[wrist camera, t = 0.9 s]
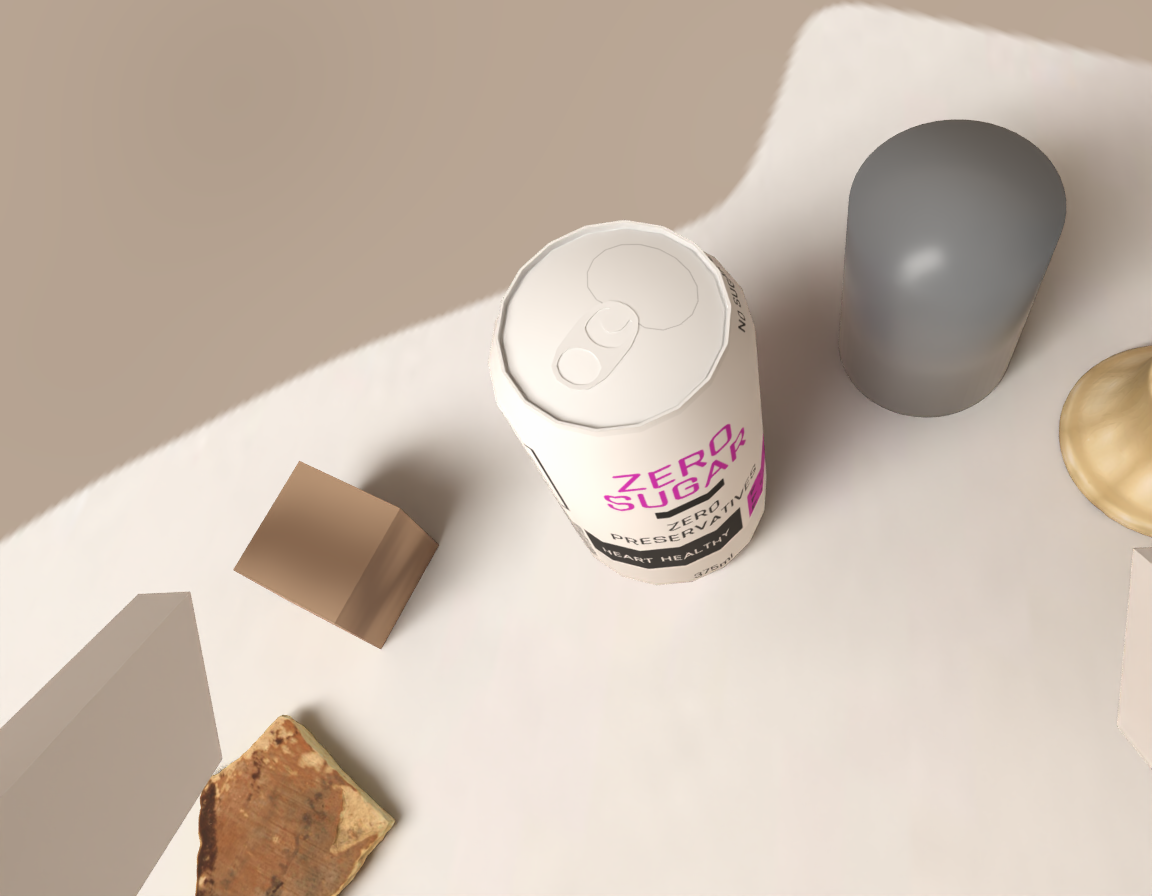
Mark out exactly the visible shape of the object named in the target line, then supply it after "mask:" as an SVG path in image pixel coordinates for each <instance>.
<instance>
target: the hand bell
mask: <svg viewBox="0 0 1152 896" xmlns="http://www.w3.org/2000/svg"><path fill="white" fill-rule="evenodd" d="M1059 440H1060V448H1061V453H1062V456H1063V460H1064V463H1065V465H1066V468H1067V470H1068V472H1069V474H1070V476H1071V478H1072V479H1073V481H1074V483H1075V484H1076V486H1077V487H1078V488H1079V490H1080V491H1081V492H1082V493H1083V494H1084V495H1085V497H1086V498H1087V499H1088V500H1089V501H1090V502H1091V503H1092V504H1094V505H1095V506H1096V507H1097V508H1098V509H1100V510H1101V511H1102V512H1103V513H1105V514H1106V515H1107V516H1108V517H1109V518H1111V519H1113V520H1114V521H1116V522H1118V523H1119V524H1121V525H1123V526H1125V527H1127V528H1129V529H1132V530H1134V531H1136V532H1139V533H1141V534H1144V535H1147V536H1150V537H1152V346H1146V347H1140V348H1135V349H1131V350H1127V351H1124V352H1121V353H1118V354H1116V355H1113V356H1111V357H1109V358H1107V359H1105V360H1103V361H1102V362H1100V363H1099V364H1097V365H1096V366H1094V367H1093V368H1091V369H1090V370H1089V371H1088V372H1087V373H1085V374H1084V375H1083V376H1082V377H1081V378H1080V379H1079V380H1078V382H1077V383H1076V384H1075V386H1074V387H1073V389H1072V390H1071V392H1070V393H1069V395H1068V397H1067V399H1066V402H1065V404H1064V406H1063V409H1062V413H1061V417H1060V425H1059Z"/></svg>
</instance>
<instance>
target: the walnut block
mask: <svg viewBox="0 0 1152 896" xmlns="http://www.w3.org/2000/svg"><path fill="white" fill-rule="evenodd" d="M438 546H439V544H438V543H437V542H435V541H434V540H433V539H432V538H431V537H430V536H429V535H428V534H427V533H426V532H425V531H424V530H423V529H422V528H421V527H420V526H419V525H417V524H416V523H415V522H414V521H413V520H412V519H411V518H410V517H409V516H408V515H407V514H406V513H405V512H404V511H403V510H402V509H401V508H399V507H397V506H395V505H392V504H390V503H388V502H386V501H384V500H382V499H380V498H377V497H375V496H373V495H371V494H369V493H367V492H365V491H362V490H360V489H358V488H356V487H354V486H352V485H350V484H348V483H345V482H343V481H341V480H339V479H337V478H335V477H333V476H330V475H328V474H326V473H324V472H322V471H320V470H318V469H315V468H313V467H311V466H309V465H307V464H305V463H303V462H301V461H299V462H298V464H297V466H296V467H295V469H294V471H293V472H292V474H291V476H290V477H289V479H288V481H287V482H286V484H285V486H284V487H283V489H282V490H281V492H280V494H279V495H278V497H277V499H276V500H275V502H274V504H273V505H272V507H271V509H270V510H269V512H268V514H267V515H266V517H265V518H264V520H263V522H262V523H261V525H260V527H259V528H258V530H257V532H256V533H255V535H254V537H253V538H252V540H251V541H250V543H249V545H248V546H247V548H246V550H245V551H244V553H243V555H242V556H241V558H240V560H239V561H238V563H237V565H236V566H235V568H234V569H233V570H234V571H236V572H237V573H239V574H241V575H243V576H245V577H246V578H248V579H250V580H252V581H254V582H255V583H257V584H259V585H261V586H263V587H264V588H266V589H268V590H270V591H272V592H273V593H275V594H277V595H279V596H281V597H282V598H284V599H286V600H288V601H290V602H292V603H294V604H295V605H297V606H299V607H301V608H303V609H305V610H307V611H309V612H311V613H313V614H314V615H316V616H318V617H320V618H322V619H324V620H326V621H328V622H330V623H332V624H333V625H335V626H337V627H339V628H341V629H343V630H345V631H347V632H349V633H351V634H353V635H354V636H356V637H358V638H360V639H362V640H364V641H366V642H368V643H370V644H372V645H373V646H375V647H377V648H379V649H381V648H382V647H383V645H384V643H385V641H386V639H387V638H388V636H389V634H390V632H391V630H392V629H393V627H394V625H395V623H396V621H397V620H398V618H399V616H400V614H401V612H402V611H403V609H404V607H405V605H406V603H407V602H408V600H409V598H410V596H411V594H412V593H413V591H414V589H415V587H416V585H417V584H418V582H419V580H420V578H421V576H422V575H423V573H424V571H425V569H426V567H427V566H428V564H429V562H430V560H431V558H432V557H433V555H434V553H435V551H436V549H437V548H438Z"/></svg>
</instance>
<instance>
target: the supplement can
mask: <svg viewBox="0 0 1152 896" xmlns="http://www.w3.org/2000/svg"><path fill="white" fill-rule="evenodd" d="M488 365H489V370H490V375H491V380H492V384H493V389H494V394H495V399H496V403H497V405H498V406H499V408H500V410H501V411H502V413H503V414H504V416H505V418H506V419H507V421H508V422H509V424H510V426H511V427H512V429H513V430H514V432H515V434H516V435H517V437H518V438H519V440H520V442H521V443H522V445H523V446H524V448H525V450H526V451H527V453H528V454H529V456H530V458H531V459H532V461H533V463H534V464H535V466H536V467H537V469H538V471H539V472H540V474H541V475H542V477H543V479H544V480H545V482H546V483H547V485H548V487H549V488H550V490H551V491H552V493H553V495H554V496H555V498H556V499H557V501H558V503H559V504H560V506H561V507H562V509H563V511H564V512H565V514H566V515H567V517H568V519H569V520H570V522H571V524H572V525H573V527H574V528H575V530H576V531H577V533H578V534H579V536H580V537H581V539H582V540H583V542H584V543H585V545H586V546H587V548H588V549H589V550H590V552H591V553H592V555H593V556H594V558H596V559H597V560H599V561H600V562H602V563H603V564H605V565H606V566H608V567H609V568H610V569H612V570H613V571H615V572H616V573H618V574H619V575H621V576H622V577H626V578H630V579H634V580H638V581H642V582H645V583H649V584H653V585H664V584H674V583H685V582H693V581H695V580H697V579H699V578H701V577H703V576H706V575H708V574H710V573H712V572H714V571H716V570H719V569H721V568H723V567H725V566H726V565H727V564H728V563H729V562H730V561H731V560H732V559H733V558H734V557H735V556H736V555H737V554H738V553H739V552H740V551H741V550H742V549H743V548H744V547H745V546H746V545H747V544H748V543H749V542H750V540H751V538H752V536H753V534H754V532H755V530H756V528H757V525H758V523H759V521H760V519H761V517H762V515H763V513H764V509H765V495H766V480H767V475H766V462H765V449H764V436H763V423H762V410H761V397H760V384H759V371H758V358H757V345H756V332H755V326H754V323H753V320H752V317H751V314H750V311H749V308H748V305H747V302H746V299H745V296H744V293H743V290H742V288H741V287H740V286H739V285H738V284H737V282H736V281H735V280H734V279H733V278H732V277H731V276H730V274H729V273H728V272H727V271H726V270H725V269H724V268H723V266H722V265H721V264H720V263H719V262H718V261H717V260H716V258H715V257H713V256H711V255H709V254H707V253H705V252H704V251H702V250H701V249H700V248H699V246H698V245H697V244H696V243H694V242H692V241H690V240H688V239H687V238H685V237H683V236H681V235H679V234H677V233H675V232H673V231H671V230H669V229H668V228H666V227H664V226H660V225H653V224H646V223H640V222H633V221H627V220H621V221H614V222H607V223H601V224H594V225H588V226H584V227H582V228H579V229H577V230H575V231H573V232H571V233H569V234H567V235H564V236H562V237H561V238H558V239H556V240H554V241H552V242H549V243H548V244H547V245H546V246H545V247H544V248H542V249H541V250H540V251H539V252H538V253H537V254H536V255H535V256H534V257H533V258H531V259H530V260H529V261H528V262H527V263H526V264H525V265H524V266H522V267H521V268H520V269H519V271H518V273H517V275H516V276H515V279H514V280H513V282H512V283H511V285H510V287H509V289H508V290H507V292H506V294H505V295H504V297H503V299H502V301H501V305H500V310H499V316H498V318H497V320H496V322H495V326H494V332H493V337H492V343H491V349H490V354H489V360H488Z"/></svg>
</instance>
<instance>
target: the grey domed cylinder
mask: <svg viewBox="0 0 1152 896" xmlns="http://www.w3.org/2000/svg"><path fill="white" fill-rule="evenodd" d="M1065 216H1066V197H1065V191H1064V187H1063V184H1062V181H1061V179H1060V176H1059V174H1058V173H1057V171H1056V169H1055V167H1054V166H1053V164H1052V163H1051V162H1050V160H1049V159H1048V158H1047V156H1046V155H1045V154H1044V153H1043V152H1042V151H1041V150H1040V149H1039V148H1037V147H1036V146H1035V145H1034V144H1032V143H1031V142H1030V141H1028V140H1027V139H1025V138H1024V137H1022V136H1020V135H1018V134H1017V133H1015V132H1012V131H1010V130H1008V129H1006V128H1003V127H1000V126H997V125H993V124H990V123H985V122H980V121H972V120H944V121H935V122H931V123H926V124H922V125H919V126H916V127H913V128H910V129H908V130H905V131H903V132H901V133H899V134H897V135H895V136H894V137H892V138H890V139H888V140H887V141H886V142H884V143H883V144H882V145H880V146H879V147H878V148H877V149H876V150H875V151H874V152H873V153H872V154H871V155H869V157H868V158H867V159H866V160H865V162H864V163H863V164H862V166H861V167H860V169H859V171H858V172H857V174H856V176H855V179H854V181H853V184H852V187H851V191H850V195H849V206H848V219H847V233H846V247H845V260H844V274H843V288H842V302H841V315H840V329H839V353H840V357H841V362H842V364H843V367H844V369H845V371H846V373H847V375H848V377H849V378H850V380H851V381H852V383H853V384H854V385H855V386H856V388H857V389H858V390H859V391H860V392H861V393H862V394H863V395H865V396H866V397H867V398H869V399H870V400H871V401H873V402H874V403H876V404H878V405H879V406H881V407H883V408H886V409H888V410H890V411H893V412H896V413H899V414H903V415H908V416H914V417H939V416H945V415H950V414H954V413H957V412H960V411H963V410H965V409H967V408H969V407H971V406H973V405H975V404H976V403H978V402H980V401H981V400H982V399H984V398H985V397H986V396H987V395H989V394H990V393H991V392H992V391H993V389H994V388H995V387H996V386H997V385H998V383H999V382H1000V381H1001V379H1002V377H1003V375H1004V373H1005V372H1006V370H1007V367H1008V365H1009V362H1010V360H1011V357H1012V355H1013V352H1014V350H1015V347H1016V345H1017V342H1018V340H1019V337H1020V335H1021V332H1022V330H1023V327H1024V325H1025V322H1026V320H1027V317H1028V315H1029V312H1030V310H1031V307H1032V305H1033V302H1034V300H1035V297H1036V295H1037V292H1038V290H1039V287H1040V285H1041V282H1042V280H1043V277H1044V275H1045V272H1046V270H1047V267H1048V265H1049V262H1050V260H1051V257H1052V255H1053V252H1054V250H1055V247H1056V245H1057V242H1058V240H1059V237H1060V235H1061V232H1062V229H1063V226H1064V222H1065Z"/></svg>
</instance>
